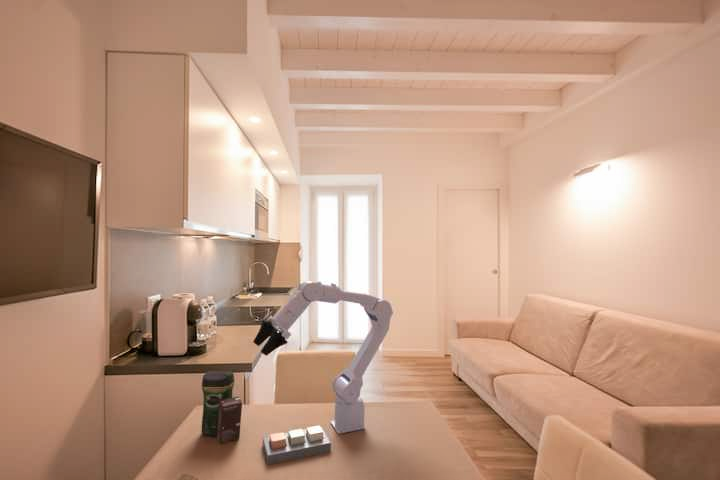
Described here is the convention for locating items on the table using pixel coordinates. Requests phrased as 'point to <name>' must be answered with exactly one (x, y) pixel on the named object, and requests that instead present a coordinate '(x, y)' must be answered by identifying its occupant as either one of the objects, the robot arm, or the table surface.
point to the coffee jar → (215, 397)
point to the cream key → (314, 433)
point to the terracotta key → (277, 440)
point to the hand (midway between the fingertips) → (259, 348)
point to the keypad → (295, 449)
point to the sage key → (296, 437)
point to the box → (229, 419)
